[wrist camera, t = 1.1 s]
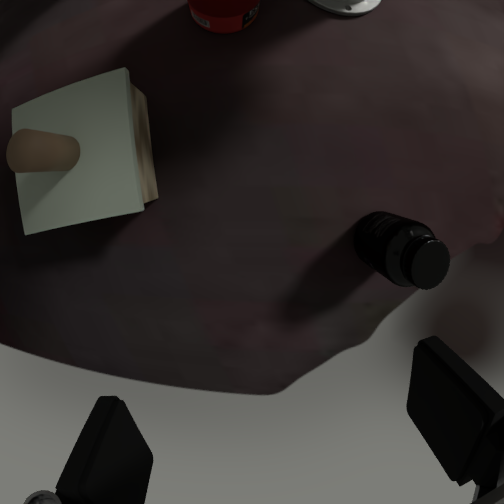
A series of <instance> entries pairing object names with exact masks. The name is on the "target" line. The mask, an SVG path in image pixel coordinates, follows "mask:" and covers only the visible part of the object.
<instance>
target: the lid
mask: <svg viewBox="0 0 504 504" xmlns="http://www.w3.org/2000/svg"><path fill="white" fill-rule="evenodd" d="M6 158H7V163H8V165H9V167H10V168H11V170H13V171H14V172H15V175H16V183H17V191H18V198H19V205H20V211H21V217H22V222H23V228H24V233H25V235H28V234H33V233H37V232H41V231H46V230H50V229H55V228H59V227H64V226H69V225H73V224H78V223H83V222H88V221H93V220H98V219H103V218H108V217H113V216H119V215H124V214H129V213H135V212H140V211H143V210H144V204H143V198H142V191H141V185H140V178H139V170H138V163H137V155H136V146H135V138H134V128H133V118H132V107H131V94H130V79H129V71H128V70H127V69H126V68H125V67H124V68H120V69H117V70H113V71H110V72H107V73H103V74H100V75H97V76H94V77H91V78H88V79H85V80H82V81H79V82H76V83H73V84H71V85H68V86H65V87H63V88H60V89H57V90H55V91H52V92H50V93H47V94H45V95H43V96H40V97H38V98H36V99H33V100H31V101H29V102H27V103H24V104H22V105H20V106H18V107H16V108H14V109H12V137H11V139H10V141H9V143H8V146H7V151H6Z"/></svg>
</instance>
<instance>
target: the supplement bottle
mask: <svg viewBox="0 0 504 504" xmlns="http://www.w3.org/2000/svg"><path fill="white" fill-rule="evenodd" d="M354 247H355V250H356V253H357V255H358V256H359V258H360V259H361V260H362V261H363V262H365V263H366V264H367V265H369V266H370V267H371V268H373V269H374V270H376V271H377V272H378V273H380V274H381V275H383V276H384V277H385V278H387V279H388V280H389V281H391V282H392V283H394V284H396V285H398V286H401V287H411V286H416V287H418V288H421V289H425V290H428V289H431V288H434V287H435V286H437V285H438V284H439V283H441V282H442V280H443V279H444V277H445V276H446V274H447V271H448V268H449V265H450V264H449V263H450V255H449V251H448V248H447V247H446V245H445V244H443V242H442V241H439V240H438V239H436V238H435V236H434V234H433V232H432V231H431V229H430V228H429V227H427V226H426V225H425V224H423V223H420V222H418V221H415V220H411V219H408V218H405V217H402V216H398V215H395V214H392V213H388V212H383V211H377V212H373V213H370V214H368V215H367V216H365V217H364V218H363V219H362V220H361V221H360V223H359V224H358V226H357V228H356V231H355V234H354Z"/></svg>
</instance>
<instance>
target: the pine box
mask: <svg viewBox="0 0 504 504" xmlns="http://www.w3.org/2000/svg"><path fill="white" fill-rule="evenodd" d="M130 94H131V107H132V118H133V128H134V138H135V146H136V155H137V163H138V170H139V178H140V185H141V191H142V198H143V203H146V202H149V201H152V200H155V199H158V191H157V184H156V177H155V170H154V162H153V155H152V146H151V138H150V129H149V119H148V109H147V98H146V96H145V95H144V94H143V93H142V92H141V91H140V90H139V89H137V88H136V87H135V86H134V85H133V84H132V83H130Z"/></svg>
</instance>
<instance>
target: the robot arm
mask: <svg viewBox="0 0 504 504" xmlns="http://www.w3.org/2000/svg"><path fill="white" fill-rule="evenodd" d="M308 1H309V2H311V3H312V4H314V5H316V6H317V7H319V8H321V9H323V10H326V11H329V12H331V13H335V14H339V15H345V16H359V15H364V14H367V13H369V12H371V11H372V10H374V9H375V8H376V7H377V6H378V5H379V4H380V2H381V0H308ZM407 412H408V415H409V416H410V418H411V419H412V421H413V422H414V424H415V425H416V427H417V428H418V430H419V431H420V433H421V435H422V436H423V438H424V439H425V440H426V442H427V444H428V445H429V447H430V448H431V450H432V451H433V453H434V455H435V456H436V458H437V459H438V461H439V462H440V464H441V466H442V467H443V468H444V470H445V472H446V473H447V475H448V477H449V478H450V479H451V480H452V481H457V483H458V485H459V486H462V485H464V484H465V483H467V482H469V481H471V480H472V479H473V481H474V482H475V484H476V488H475V493H474V497H473V501H472V503H471V504H504V399H503V398H502V397H501V396H500V395H499V394H498V393H497V392H496V391H495V390H494V389H493V388H492V387H491V386H490V385H489V384H488V383H487V382H486V381H485V380H484V379H483V378H482V377H481V376H480V375H478V374H477V373H476V372H475V371H474V370H473V369H472V368H471V367H470V366H469V365H468V364H467V363H466V362H465V361H464V360H462V359H461V358H460V357H459V356H458V355H457V354H456V353H455V352H454V351H453V350H451V349H450V348H449V347H448V346H447V345H446V344H445V343H444V342H443V341H442V340H440V339H439V338H438V337H437V336H431V337H428V338H425V339H423V340H420V341H419V342H418V345H417V346H416V347H415V348H414V352H413V362H412V371H411V379H410V387H409V393H408V400H407ZM152 465H153V455H152V452H151V450H150V448H149V447H148V445H147V443H146V442H145V440H144V438H143V436H142V434H141V433H140V431H139V429H138V427H137V425H136V424H135V422H134V420H133V418H132V416H131V414H130V412H129V410H128V408H127V407H126V404H125V402H124V401H123V400H120V399H119V398H118V397H117V396H100V397H99V398H98V400H97V402H96V404H95V406H94V408H93V410H92V411H91V414H90V416H89V417H88V419H87V421H86V423H85V425H84V427H83V429H82V431H81V433H80V436H79V438H78V440H77V442H76V444H75V446H74V448H73V450H72V452H71V454H70V456H69V459H68V461H67V463H66V465H65V467H64V470H63V472H62V474H61V476H60V478H59V481H58V483H57V485H56V489H57V490H56V493H55V494H54V493H53V492H50V491H45V490H41V491H37V492H35V493H33V494H31V495H30V496H29V497H28V498H27V499H26V500H25V502H24V504H144V503H145V498H146V493H147V488H148V483H149V479H150V474H151V469H152Z"/></svg>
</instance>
